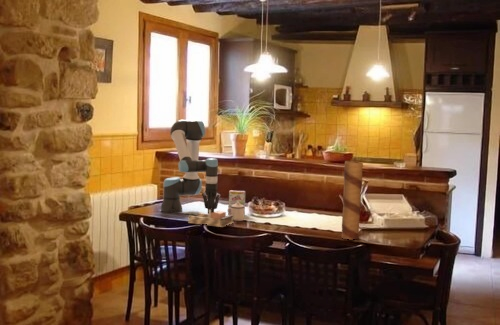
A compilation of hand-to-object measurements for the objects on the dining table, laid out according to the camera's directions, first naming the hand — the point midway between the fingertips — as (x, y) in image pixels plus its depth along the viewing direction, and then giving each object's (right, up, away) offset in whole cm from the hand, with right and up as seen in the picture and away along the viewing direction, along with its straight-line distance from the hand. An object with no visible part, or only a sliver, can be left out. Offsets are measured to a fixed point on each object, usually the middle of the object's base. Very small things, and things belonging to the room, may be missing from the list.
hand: (210, 219), depth 366 cm
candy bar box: (+16, 0, +32) cm, 35 cm away
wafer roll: (+83, -8, -33) cm, 90 cm away
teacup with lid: (+15, -1, +15) cm, 22 cm away
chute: (0, -2, 0) cm, 2 cm away
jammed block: (+5, -1, -2) cm, 6 cm away
